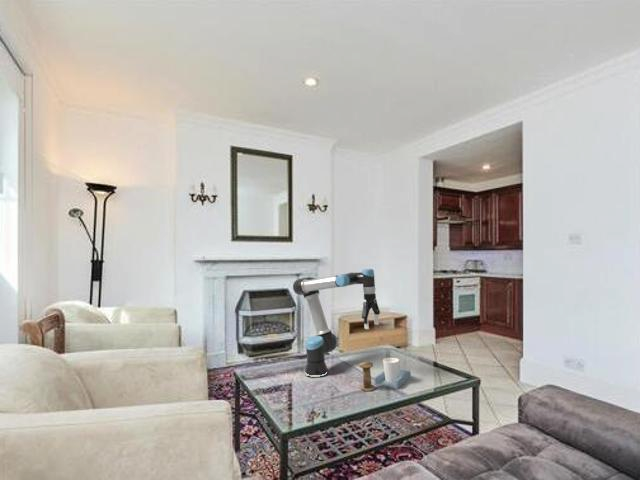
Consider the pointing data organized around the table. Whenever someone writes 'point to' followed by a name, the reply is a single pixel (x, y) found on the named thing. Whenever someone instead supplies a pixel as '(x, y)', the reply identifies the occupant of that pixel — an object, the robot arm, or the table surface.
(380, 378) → the blue grey tray
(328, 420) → the table surface
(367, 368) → the bobbin post
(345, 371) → the table surface
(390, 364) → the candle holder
